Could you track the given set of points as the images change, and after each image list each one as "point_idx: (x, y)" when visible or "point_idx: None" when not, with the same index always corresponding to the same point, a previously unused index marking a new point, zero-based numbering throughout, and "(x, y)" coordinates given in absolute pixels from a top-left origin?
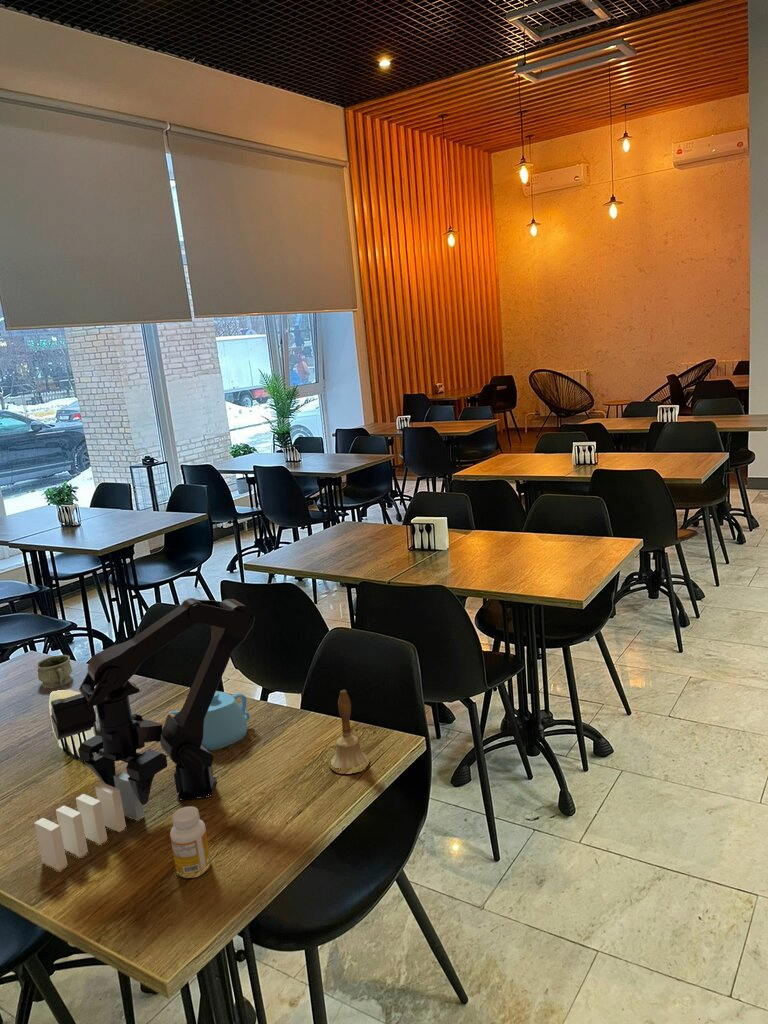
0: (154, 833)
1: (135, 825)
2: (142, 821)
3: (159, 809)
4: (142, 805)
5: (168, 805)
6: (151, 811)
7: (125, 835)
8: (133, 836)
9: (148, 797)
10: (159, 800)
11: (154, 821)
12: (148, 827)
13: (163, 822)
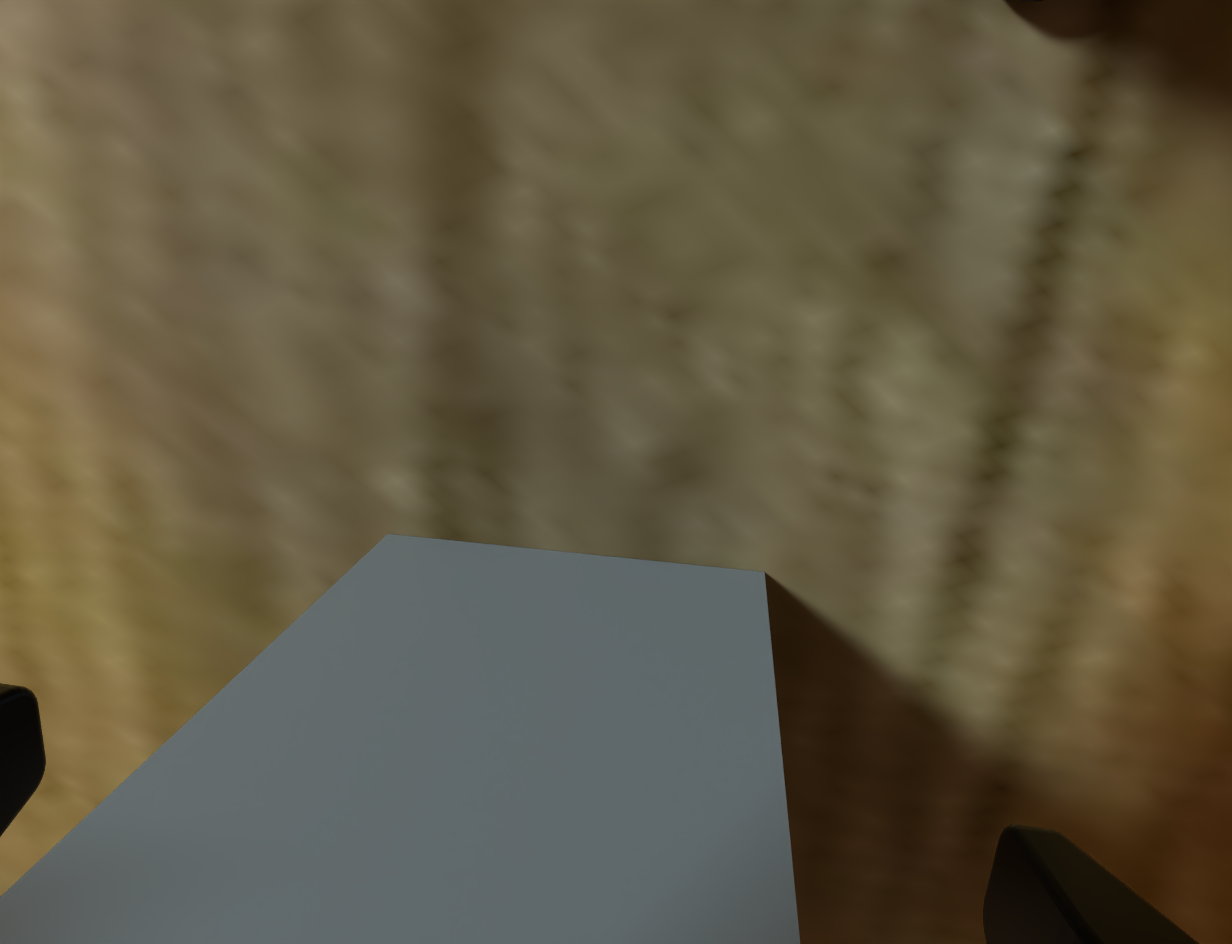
0: (1200, 803)
1: (790, 750)
2: (817, 657)
3: (850, 342)
4: (769, 662)
5: (923, 192)
6: (762, 431)
7: (824, 929)
8: (944, 918)
9: (1146, 912)
10: (655, 142)
11: (999, 602)
12: (1011, 731)
13: (1163, 576)
